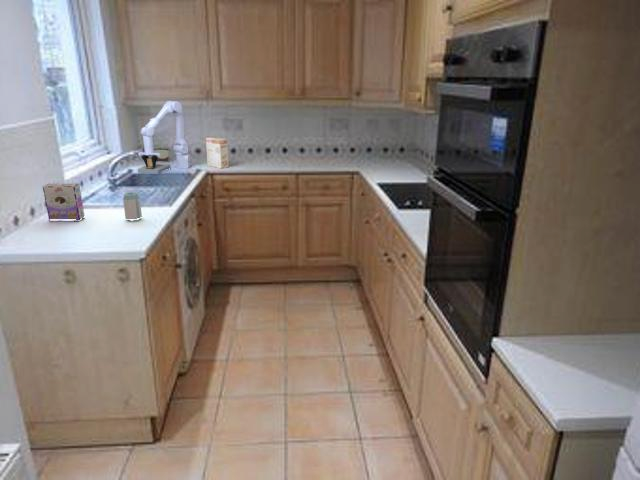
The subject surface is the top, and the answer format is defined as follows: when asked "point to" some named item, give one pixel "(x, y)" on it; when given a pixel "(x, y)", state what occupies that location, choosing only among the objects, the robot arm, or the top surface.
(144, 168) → the board
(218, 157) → the coffeecake box
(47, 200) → the candy box
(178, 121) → the robot arm
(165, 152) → the food container
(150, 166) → the peg
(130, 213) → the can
